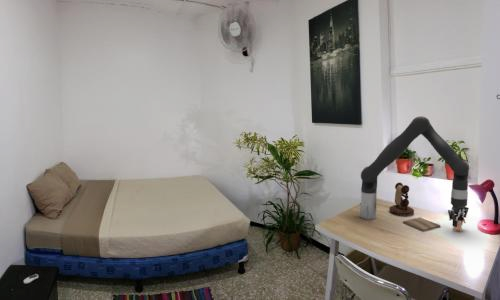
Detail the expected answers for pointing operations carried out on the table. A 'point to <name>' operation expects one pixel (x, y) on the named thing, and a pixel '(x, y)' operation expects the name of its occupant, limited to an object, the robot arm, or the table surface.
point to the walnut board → (421, 224)
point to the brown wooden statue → (401, 201)
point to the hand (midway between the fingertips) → (457, 225)
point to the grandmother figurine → (459, 223)
